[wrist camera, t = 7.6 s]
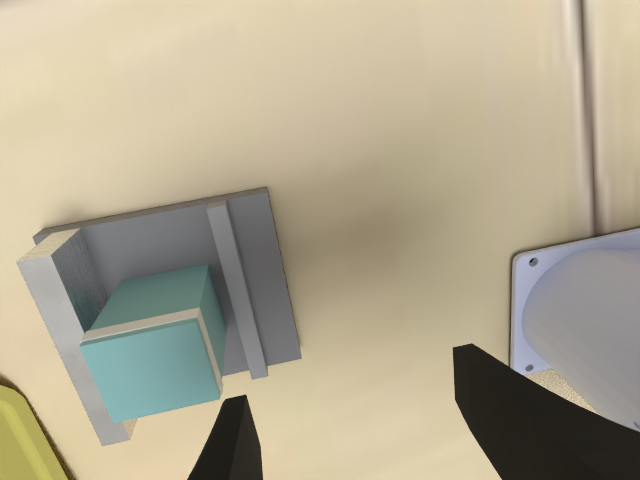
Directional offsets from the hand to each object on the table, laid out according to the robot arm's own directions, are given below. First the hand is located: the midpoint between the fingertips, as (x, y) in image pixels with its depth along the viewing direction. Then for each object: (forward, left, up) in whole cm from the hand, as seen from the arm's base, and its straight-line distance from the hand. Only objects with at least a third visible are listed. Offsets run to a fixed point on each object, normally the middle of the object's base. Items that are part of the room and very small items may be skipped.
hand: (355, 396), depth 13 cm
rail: (+10, 0, -8) cm, 13 cm away
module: (+7, 0, -8) cm, 11 cm away
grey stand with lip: (+7, 0, -9) cm, 11 cm away
